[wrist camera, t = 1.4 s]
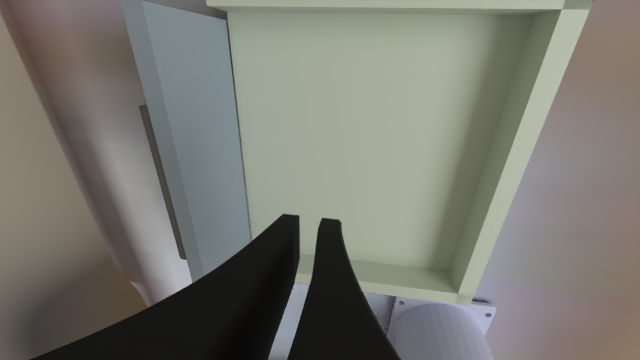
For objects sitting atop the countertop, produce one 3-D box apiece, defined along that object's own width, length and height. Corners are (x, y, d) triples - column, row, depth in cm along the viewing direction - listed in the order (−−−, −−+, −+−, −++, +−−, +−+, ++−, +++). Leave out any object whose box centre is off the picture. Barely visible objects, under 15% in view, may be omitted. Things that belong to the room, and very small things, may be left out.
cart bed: (453, 268, 21) (469, 306, 18) (260, 245, 23) (244, 275, 20) (544, -5, 13) (602, -22, 10) (236, -6, 15) (203, -21, 12)
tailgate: (251, 245, 21) (212, 312, 15) (230, 242, 21) (185, 308, 16) (226, 20, 14) (141, 0, 9) (196, 19, 14) (95, 0, 9)
